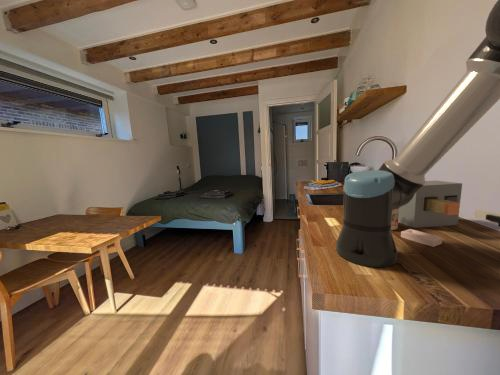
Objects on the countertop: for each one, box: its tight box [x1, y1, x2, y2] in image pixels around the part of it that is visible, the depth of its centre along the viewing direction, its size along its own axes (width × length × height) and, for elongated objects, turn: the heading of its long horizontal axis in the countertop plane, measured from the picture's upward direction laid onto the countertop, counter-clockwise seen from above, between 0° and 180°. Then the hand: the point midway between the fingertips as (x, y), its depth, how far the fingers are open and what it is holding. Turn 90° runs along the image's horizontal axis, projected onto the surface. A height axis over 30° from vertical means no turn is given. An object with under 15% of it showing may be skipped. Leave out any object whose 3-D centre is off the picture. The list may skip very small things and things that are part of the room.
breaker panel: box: [398, 180, 463, 229], centre depth 79 cm, size 18×10×16 cm, turn 94°
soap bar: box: [400, 228, 443, 247], centre depth 65 cm, size 5×9×2 cm, turn 24°
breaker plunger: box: [424, 197, 461, 215], centre depth 71 cm, size 4×10×4 cm, turn 4°
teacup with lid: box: [391, 207, 400, 231], centre depth 78 cm, size 12×9×12 cm
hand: (477, 213), depth 60 cm, fingers closed
